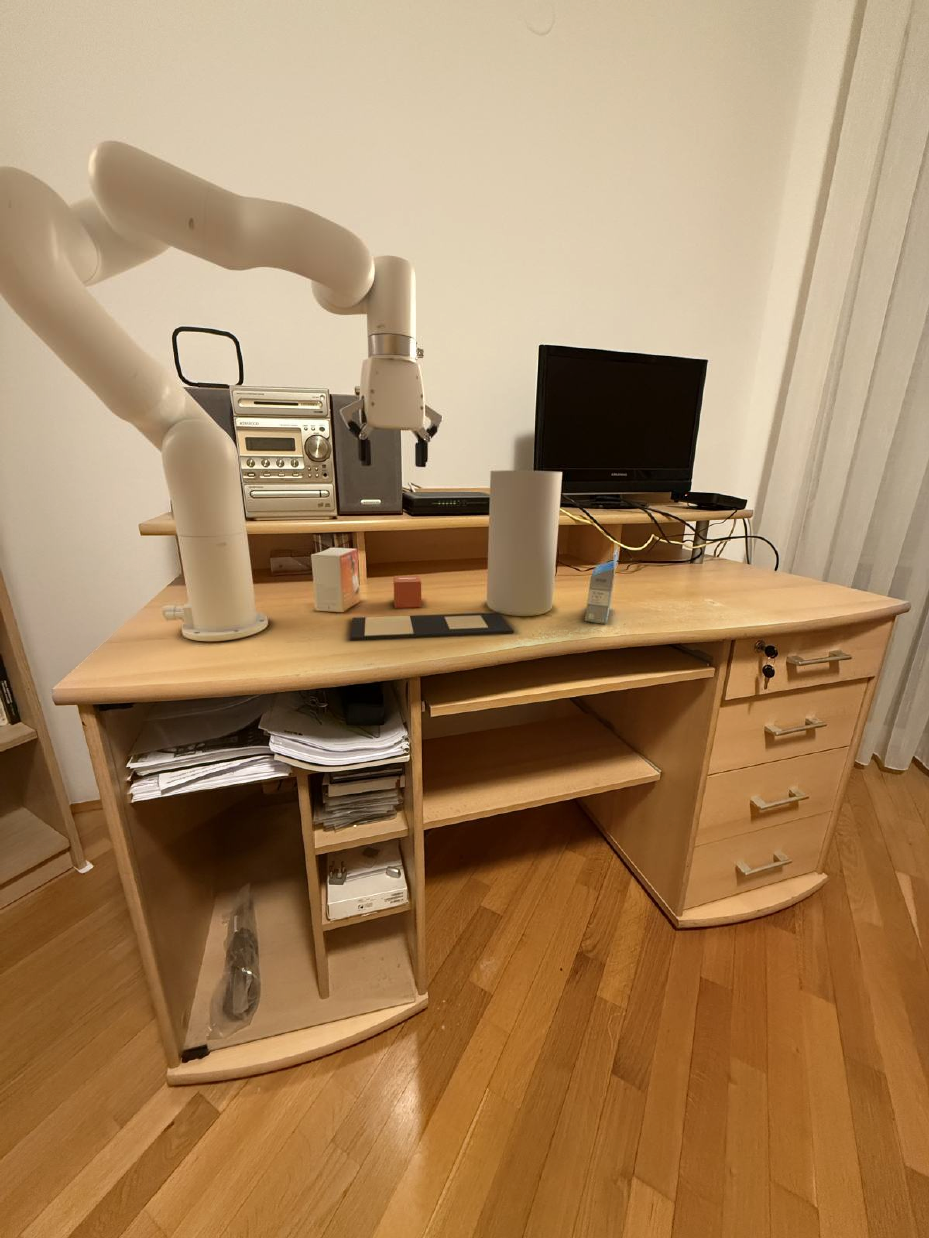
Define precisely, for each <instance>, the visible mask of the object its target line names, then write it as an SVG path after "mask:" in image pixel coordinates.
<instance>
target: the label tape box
mask: <svg viewBox="0 0 929 1238" xmlns="http://www.w3.org/2000/svg"><path fill="white" fill-rule="evenodd" d="M618 551H619V549H618V546H616V549H615V551H614V553H613V554H612V557H613V558H612V560H611V561H608V562H605V563H601V564H598V565H595V566H594V569H593V572H592V574H591V576H590V581H589V587H588V594H587V595H588V596H587V603H586V609H585V610H586V611H585V617H584V618H585V619H584V620H585V621H586V622H591V623H596V624H603V625H606V624H607V623H608V618H609V614H610V610H611V605H612V604H611V603H612V602H611V601H612V596H613V590H614V583H615V574H616V568H617V564H618Z"/></svg>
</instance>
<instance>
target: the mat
mask: <svg viewBox="0 0 929 1238" xmlns="http://www.w3.org/2000/svg"><path fill="white" fill-rule="evenodd" d="M502 634H503V635H505V634H514V629H513V628H512V627H511V626H510V624H509V623H508V622H507V620H505V618H504V617H503V616H502V614H501V613H499V612H495V611H493V612H472V613H471V612H470V613H469V612H468V613H467V612H466V613H444V614H442V613H441V614H415V615H414V614H413V615H392V616H391V615H389V616H387V615H386V616H365V617H364V616H363V617H361V616H360V617H352V622H351V628H350V636H349V640H350V641H366V640H367V641H368V640H391V639H412V638H434V637H435V638H436V637H437V638H438V637H460V636H478V635H479V636H480V635H502Z"/></svg>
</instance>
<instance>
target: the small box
mask: <svg viewBox="0 0 929 1238" xmlns="http://www.w3.org/2000/svg"><path fill="white" fill-rule="evenodd" d="M310 557H311V559H310V560H311V569H312V581H313V593H314V605H315V611H319V612H333V613H334V612H335V613H336V612H337V613H344V612H346V611H347V610H348V609H350V608H352V607H353V606H355V605H356V604H359V603H360V602H361V599H360V597H361V596H360V578H359V577H360V576H359V559H358V558H359V556H358V549H357V548H349V547H329V548H327V549H324V550H321V551H319V552H316V553H312V554H310Z"/></svg>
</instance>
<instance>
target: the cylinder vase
mask: <svg viewBox="0 0 929 1238" xmlns="http://www.w3.org/2000/svg"><path fill="white" fill-rule="evenodd" d="M489 478H490V480H489V509H488V511H489V512H488V543H487V545H488V547H487V575H486V576H487V577H486V578H487V579H486V605H487V607H488V609H490V610H491V611H493V612H499V613H500V615H506V616H514V617H533V616H534V617H535V616H540V615H543V614H546V613H548V612H549V611H551V610H552V607H553V603H554V591H555V590H554V589H555V576H556V564H557V561H556V560H557V549H558V537H559V536H558V535H559V522H560V520H559V518H560V509H561V508H560V507H561V494H562V481H563V471H555V470H553V471H552V470H551V471H550V470H510V469H509V470H504V469H503V470H501V469H500V470H490V475H489Z"/></svg>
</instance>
